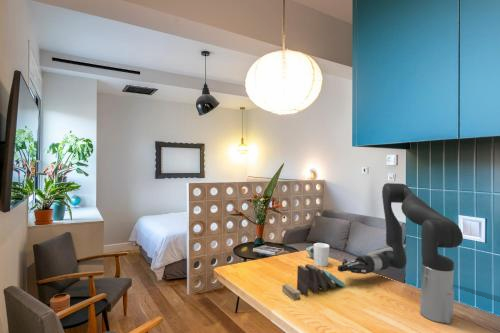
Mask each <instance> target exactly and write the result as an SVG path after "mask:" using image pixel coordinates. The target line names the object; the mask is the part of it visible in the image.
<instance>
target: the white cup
mask: <svg viewBox="0 0 500 333" xmlns="http://www.w3.org/2000/svg"><path fill="white" fill-rule="evenodd" d="M313 246H314V258H313V263H314V264H313V265H314V266H315V267H321V268H324V267H328V266H329V257H330V247H331V246H330V244H327V243H323V242H316V243H313Z"/></svg>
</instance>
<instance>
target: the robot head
mask: <svg viewBox="0 0 500 333" xmlns="http://www.w3.org/2000/svg"><path fill="white" fill-rule="evenodd" d="M305 251H306V252H307V254H308V255H309V257H310V258H311V259H314V245H311V246H309V247H306V248H305Z"/></svg>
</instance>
